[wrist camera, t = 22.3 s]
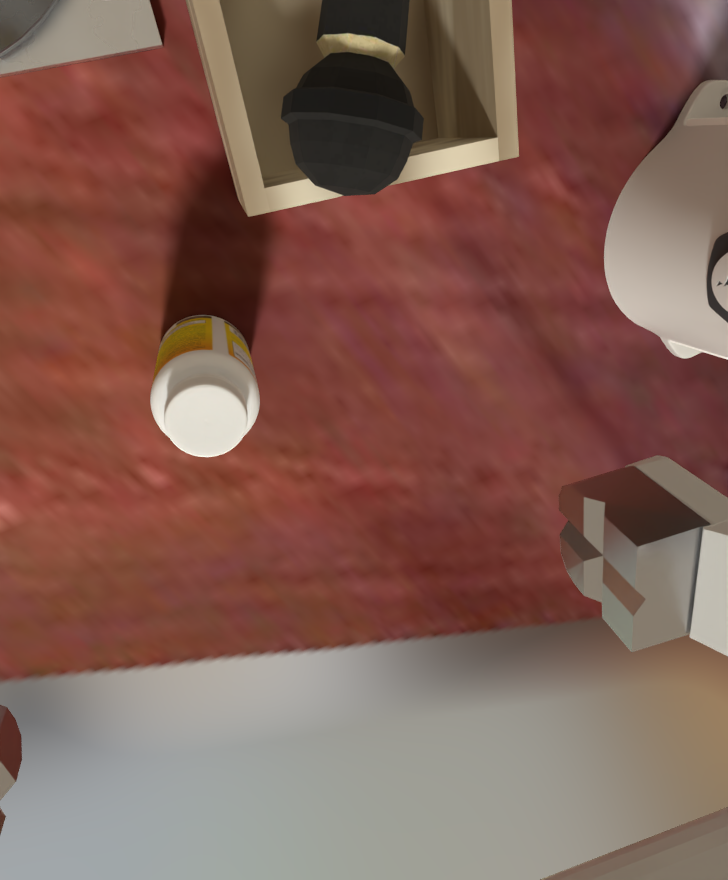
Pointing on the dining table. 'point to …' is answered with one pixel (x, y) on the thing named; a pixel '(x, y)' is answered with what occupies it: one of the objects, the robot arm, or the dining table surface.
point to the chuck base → (85, 35)
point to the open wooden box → (422, 69)
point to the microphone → (355, 100)
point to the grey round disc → (21, 20)
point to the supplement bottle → (204, 386)
